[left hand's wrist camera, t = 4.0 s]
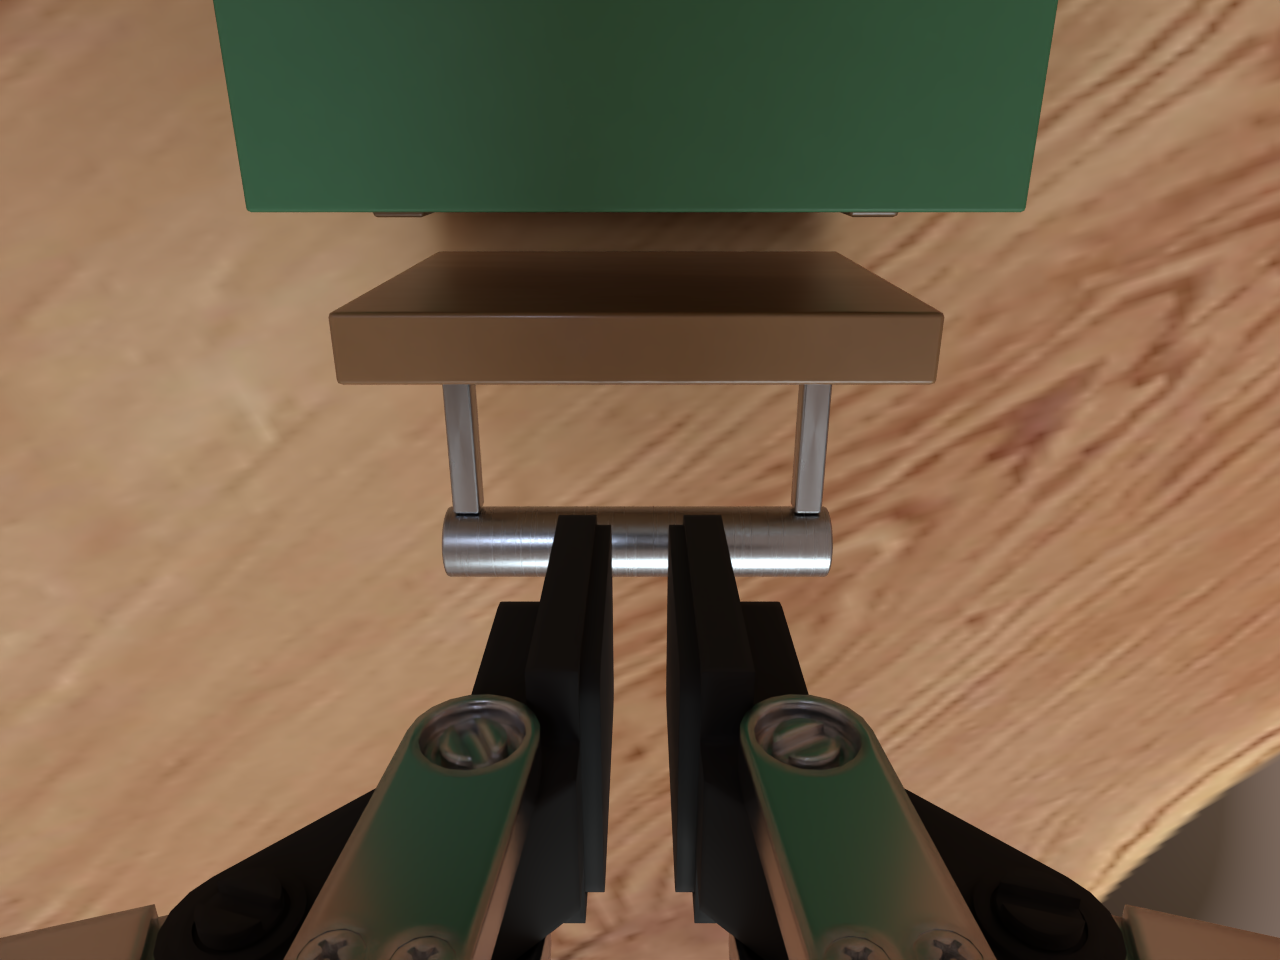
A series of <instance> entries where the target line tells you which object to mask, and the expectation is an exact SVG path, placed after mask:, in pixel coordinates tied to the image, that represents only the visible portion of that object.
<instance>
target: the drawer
mask: <svg viewBox="0 0 1280 960" xmlns="http://www.w3.org/2000/svg"><path fill="white" fill-rule="evenodd" d="M373 213H374V215H375V216H376V217H423V216H426V215H428V214H431V213H434V212H373ZM841 213H843V214H846V215H849V216H852V217H894V216H896V215H897V214H898V212H841ZM943 323H944V315H943V313H942V312H940V311H938V310H936V309H935V308H933V307H931V306H930V305H928V304H926V303H924V302H923V301H921V300H919V299H917V298H916V297H914V296H912V295H910V294H909V293H907V292H905V291H904V290H902V289H900V288H898V287H897V286H895V285H893V284H891V283H890V282H888V281H886V280H884V279H883V278H881V277H879V276H878V275H876V274H874V273H872V272H871V271H869V270H867V269H865V268H864V267H862V266H860V265H858V264H857V263H855V262H853V261H852V260H850V259H848V258H846V257H845V256H843V255H841V254H839V253H837V252H438V253H436V254H434V255H432V256H431V257H429V258H427V259H425V260H423V261H422V262H420V263H418V264H416V265H415V266H413V267H411V268H409V269H407V270H406V271H404V272H402V273H400V274H399V275H397V276H395V277H393V278H392V279H390V280H388V281H386V282H384V283H383V284H381V285H379V286H377V287H376V288H374V289H372V290H370V291H368V292H367V293H365V294H363V295H361V296H360V297H358V298H356V299H354V300H352V301H351V302H349V303H347V304H345V305H344V306H342V307H340V308H338V309H337V310H335V311H333V312H331V313H330V314H329V324H330V332H331V339H332V347H333V354H334V362H335V369H336V377H337V381H338V383H340V384H343V385H423V384H442V387H443V398H444V410H445V421H446V433H447V444H448V456H449V467H450V479H451V490H452V502H453V507H449V508H448V510H447V512H446V515H445V518H444V523H443V531H442V556H443V564H444V568H445V571H446V573H447V575H448V576H450V577H545V576H546V571H547V567H548V562H549V557H550V553H551V548H552V544H553V539H554V534H555V530H556V525H557V521H558V516H559V515H597V525H611V529H612V577H668V529H669V525H683V515H721V517H722V521H723V525H724V530H725V534H726V539H727V544H728V548H729V553H730V558H731V562H732V567H733V571H734V576H735V577H825V576H827V575H828V573H829V570H830V567H831V562H832V552H833V536H832V525H831V519H830V515H829V512H828V510H827V508H826V507H822V498H823V487H824V475H825V463H826V451H827V439H828V427H829V415H830V403H831V392H832V384H933V383H935V381H936V377H937V369H938V361H939V354H940V346H941V338H942V330H943ZM475 384H799V393H798V408H797V422H796V436H795V451H794V465H793V479H792V494H791V504H792V506H793V507H482V506H483V504H484V496H483V482H482V468H481V454H480V441H479V427H478V413H477V399H476V385H475Z"/></svg>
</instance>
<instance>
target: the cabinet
mask: <svg viewBox="0 0 1280 960" xmlns="http://www.w3.org/2000/svg"><path fill="white" fill-rule="evenodd" d="M213 3H214V9H215V15H216V21H217V28H218V34H219V40H220V46H221V53H222V59H223V65H224V71H225V78H226V84H227V90H228V96H229V103H230V109H231V115H232V121H233V127H234V134H235V140H236V146H237V152H238V159H239V165H240V171H241V177H242V184H243V190H244V196H245V202H246V208H247V210H248V211H250V212H1022V211H1024V210H1025V208H1026V201H1027V195H1028V188H1029V182H1030V176H1031V169H1032V163H1033V157H1034V150H1035V144H1036V137H1037V131H1038V125H1039V118H1040V112H1041V106H1042V99H1043V93H1044V86H1045V80H1046V74H1047V67H1048V61H1049V55H1050V48H1051V42H1052V35H1053V29H1054V23H1055V16H1056V10H1057V4H1058V0H213Z"/></svg>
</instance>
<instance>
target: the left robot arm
mask: <svg viewBox="0 0 1280 960" xmlns="http://www.w3.org/2000/svg"><path fill="white" fill-rule="evenodd" d="M613 702H614V673H613V597H612V529H611V525H597V515H559V516H558V521H557V525H556V530H555V534H554V539H553V544H552V548H551V553H550V557H549V562H548V567H547V571H546V576H545V581H544V585H543V590H542V594H541V599H540V602H500V604H499V606H498V609H497V612H496V615H495V619H494V622H493V625H492V629H491V632H490V635H489V638H488V642H487V645H486V648H485V652H484V655H483V658H482V661H481V665H480V668H479V671H478V675H477V678H476V681H475V684H474V688H473V691H472V694H471V695H468V696H463V697H459V698H454V699H450V700H448V701H445V702H443V703H441V704H438V705H436V706H434V707H432V708H430V709H429V710H427V711H426V712H425V713H423V714H422V715H420V716H419V717H418V718H417V719H416V720H415V721H414V723H413V724H412V725H411V726H410V728H409V729H408V730H407V732H406V734H405V736H404V737H403V739H402V741H401V743H400V745H399V747H398V749H397V750H396V752H395V754H394V756H393V758H392V760H391V762H390V763H389V765H388V767H387V769H386V771H385V773H384V774H383V776H382V778H381V780H380V782H379V784H378V786H377V787H376V788H375V789H374V790H372V791H370V792H368V793H366V794H364V795H363V796H361V797H359V798H357V799H355V800H353V801H352V802H350V803H348V804H346V805H344V806H342V807H341V808H339V809H337V810H335V811H333V812H331V813H330V814H328V815H326V816H324V817H322V818H320V819H318V820H317V821H315V822H313V823H311V824H309V825H307V826H306V827H304V828H302V829H300V830H298V831H296V832H295V833H293V834H291V835H289V836H287V837H285V838H284V839H282V840H280V841H278V842H276V843H274V844H272V845H271V846H269V847H267V848H265V849H263V850H261V851H260V852H258V853H256V854H254V855H252V856H250V857H249V858H247V859H245V860H243V861H241V862H239V863H238V864H236V865H234V866H232V867H230V868H228V869H227V870H225V871H223V872H221V873H219V874H217V875H215V876H214V877H212V878H210V879H209V880H207V881H206V882H204V883H203V884H201V885H200V886H198V887H197V888H196V889H194V890H193V891H191V892H190V893H189V894H188V895H187V896H186V897H185V898H184V899H183V900H182V901H181V902H180V903H179V904H178V905H177V906H176V907H175V908H174V909H173V910H172V911H171V912H170V913H169V915H166V916H162V917H158V915H157V911H156V908H155V904H153V905H149V906H144V907H140V908H135V909H131V910H126V911H121V912H117V913H112V914H108V915H103V916H99V917H94V918H90V919H85V920H80V921H76V922H71V923H67V924H62V925H58V926H53V927H48V928H44V929H39V930H35V931H30V932H26V933H21V934H17V935H12V936H7V937H3V938H0V960H551V932H552V931H554V930H555V929H556V928H558V927H559V926H560V925H561V924H563V923H585V921H586V907H587V893H588V892H605V876H606V854H607V833H608V812H609V790H610V769H611V748H612V727H613ZM666 703H667V727H668V748H669V769H670V791H671V812H672V833H673V855H674V876H675V892H692V893H693V907H694V921H695V923H717V924H719V925H720V926H721V927H722V928H724V929H725V930H726V931H728V932H729V960H1280V938H1277V937H1272V936H1268V935H1263V934H1259V933H1254V932H1250V931H1245V930H1241V929H1236V928H1232V927H1227V926H1222V925H1218V924H1213V923H1208V922H1204V921H1200V920H1195V919H1190V918H1186V917H1181V916H1177V915H1172V914H1167V913H1163V912H1158V911H1154V910H1149V909H1145V908H1140V907H1136V906H1131V905H1127V904H1126V905H1125V908H1124V911H1123V915H1122V917H1118V916H1114V915H1111V913H1110V912H1109V911H1108V910H1107V909H1106V908H1105V907H1104V906H1103V905H1102V904H1101V903H1100V902H1099V901H1098V900H1097V899H1096V898H1095V897H1094V896H1093V895H1092V894H1091V893H1090V892H1089V891H1087V890H1086V889H1084V888H1083V887H1081V886H1080V885H1078V884H1077V883H1076V882H1074V881H1073V880H1071V879H1070V878H1068V877H1066V876H1065V875H1063V874H1061V873H1059V872H1057V871H1055V870H1053V869H1052V868H1050V867H1048V866H1046V865H1044V864H1042V863H1041V862H1039V861H1037V860H1035V859H1033V858H1031V857H1030V856H1028V855H1026V854H1024V853H1022V852H1020V851H1019V850H1017V849H1015V848H1013V847H1011V846H1009V845H1007V844H1006V843H1004V842H1002V841H1000V840H998V839H996V838H995V837H993V836H991V835H989V834H987V833H985V832H984V831H982V830H980V829H978V828H976V827H974V826H973V825H971V824H969V823H967V822H965V821H963V820H962V819H960V818H958V817H956V816H954V815H952V814H950V813H949V812H947V811H945V810H943V809H941V808H939V807H938V806H936V805H934V804H932V803H930V802H928V801H927V800H925V799H923V798H921V797H919V796H917V795H916V794H914V793H912V792H910V791H908V790H906V789H904V787H903V786H902V784H901V782H900V780H899V778H898V776H897V774H896V773H895V771H894V769H893V767H892V765H891V763H890V762H889V760H888V758H887V756H886V754H885V752H884V750H883V749H882V747H881V745H880V743H879V741H878V739H877V737H876V736H875V734H874V732H873V730H872V729H871V728H870V726H869V725H868V724H867V723H866V721H865V720H864V719H863V718H862V717H861V716H860V715H858V714H857V713H855V712H854V711H853V710H851V709H850V708H848V707H846V706H844V705H842V704H839V703H837V702H835V701H832V700H830V699H826V698H821V697H817V696H812V695H809V694H808V691H807V688H806V684H805V681H804V678H803V675H802V671H801V668H800V665H799V661H798V658H797V655H796V652H795V648H794V645H793V642H792V638H791V635H790V632H789V629H788V625H787V622H786V619H785V615H784V612H783V609H782V606H781V604H780V602H740V599H739V594H738V590H737V585H736V581H735V576H734V571H733V567H732V562H731V558H730V553H729V548H728V544H727V539H726V534H725V530H724V525H723V521H722V517H721V515H683V525H669V529H668V596H667V672H666Z"/></svg>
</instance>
